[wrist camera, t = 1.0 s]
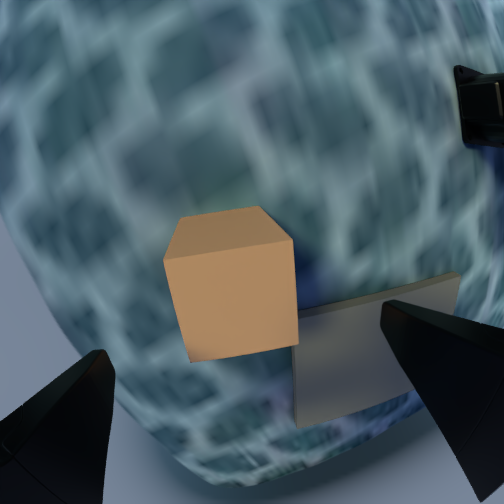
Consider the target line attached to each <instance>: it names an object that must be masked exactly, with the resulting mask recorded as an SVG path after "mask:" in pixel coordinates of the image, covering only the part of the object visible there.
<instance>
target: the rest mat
mask: <svg viewBox="0 0 504 504" xmlns="http://www.w3.org/2000/svg"><path fill="white" fill-rule="evenodd" d="M460 279H461V275H459V274H457V273H456V272H454V271H453V272H450V273H447V274H443V275H440V276H437V277H433V278H430V279H426V280H423V281H419V282H416V283H412V284H409V285H405V286H401V287H397V288H394V289H390V290H386V291H382V292H378V293H374V294H370V295H366V296H362V297H358V298H354V299H349V300H345V301H341V302H336V303H332V304H327V305H323V306H318V307H313V308H309V309H304V310H299V311H297V316H298V338H299V344H297V345H292V346H291V350H292V370H293V392H294V419H295V424H296V427H297V429H299V428H303V427H307V426H311V425H315V424H319V423H322V422H326V421H329V420H333V419H336V418H339V417H343V416H346V415H349V414H352V413H355V412H358V411H361V410H364V409H367V408H369V407H372V406H375V405H378V404H380V403H383V402H385V401H388V400H390V399H393V398H395V397H398V396H400V395H403V394H405V393H407V392H410V391H412V390H414V389H415V388H414V386H413V385H412V383H411V382H410V380H409V379H408V377H407V376H406V374H405V372H404V371H403V369H402V368H401V366H400V365H399V363H398V361H397V359H396V358H395V356H394V354H393V352H392V350H391V348H390V346H389V344H388V342H387V340H386V338H385V336H384V334H383V332H382V330H381V328H380V317H381V308H382V304H383V302H385V301H388V300H392V299H396V300H399V301H403V302H406V303H410V304H413V305H417V306H421V307H424V308H428V309H432V310H435V311H439V312H442V313H446V314H450V315H453V313H454V309H455V305H456V300H457V295H458V290H459V284H460Z"/></svg>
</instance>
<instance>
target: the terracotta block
mask: <svg viewBox="0 0 504 504" xmlns="http://www.w3.org/2000/svg"><path fill="white" fill-rule="evenodd" d="M163 262H164V266H165V270H166V275H167V279H168V283H169V287H170V291H171V295H172V299H173V303H174V307H175V311H176V314H177V318H178V322H179V325H180V329H181V333H182V336H183V340H184V343H185V346H186V350H187V353H188V356H189V360H190V363H192V362H199V361H207V360H214V359H221V358H227V357H233V356H239V355H245V354H251V353H257V352H262V351H267V350H273V349H278V348H283V347H287V346H292V345H297V344H299V338H298V316H297V297H296V279H295V264H294V250H293V239H292V238H291V237H290V236H289V235H288V234H287V233H286V232H285V231H284V230H283V229H282V228H281V227H280V226H279V225H278V224H277V223H276V222H275V221H274V220H273V219H272V218H271V217H270V216H269V215H268V214H267V213H266V212H265V211H264V210H263V209H262V208H261V207H260V206H255V207H248V208H241V209H234V210H227V211H221V212H214V213H208V214H201V215H195V216H189V217H183V218H180V220H179V222H178V225H177V227H176V230H175V232H174V234H173V237H172V239H171V242H170V244H169V247H168V249H167V252H166V254H165V257H164V259H163Z"/></svg>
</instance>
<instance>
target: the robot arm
mask: <svg viewBox="0 0 504 504" xmlns="http://www.w3.org/2000/svg"><path fill="white" fill-rule="evenodd" d="M454 73H455V78H456V84H457V90H458V97H459V104H460V112H461V122H462V134H463V140H464V142H465V143H468V144H477V145H485V146H492V147H499V148H504V73H494V74H482V73H480V72H477V71H475V70H472V69H470V68H467V67H464V66H461V65H456V66H454ZM380 328H381V330H382V332H383V334H384V336H385V338H386V340H387V342H388V344H389V346H390V348H391V350H392V352H393V354H394V356H395V358H396V359H397V361H398V363H399V365H400V366H401V368H402V369H403V371H404V372H405V374H406V376H407V377H408V379H409V380H410V382H411V383H412V385H413V386H414V388H415V390H416V391H417V393H418V394H419V396H420V397H421V399H422V401H423V402H424V404H425V406H426V407H427V409H428V410H429V412H430V413H431V415H432V417H433V419H434V420H435V422H436V424H437V425H438V427H439V429H440V430H441V432H442V434H443V435H444V437H445V439H446V441H447V442H448V444H449V446H450V447H451V449H452V451H453V453H454V454H455V456H456V458H457V460H458V462H459V464H460V466H461V467H462V469H463V471H464V473H465V475H466V477H467V479H468V480H469V482H470V484H471V486H472V488H473V490H474V492H475V494H476V496H477V498H478V500H479V501H480V502H483V501H484V500H485V499H486V498H488V497H489V496H490V495H491V494H493V493H494V492H495V491H496V490H497V489H498V488H500V487H501V486H502V485H503V484H504V329H502V328H498V327H494V326H490V325H486V324H483V323H481V324H480V323H479V322H475V321H472V320H468V319H464V318H461V317H457V316H453V315H450V314H446V313H442V312H439V311H435V310H432V309H428V308H424V307H421V306H417V305H413V304H410V303H406V302H403V301H399V300H396V299H392V300H388V301H385V302H383V304H382V308H381V317H380ZM114 389H115V369H114V367H113V365H112V363H111V361H110V358H109V356H108V354H107V352H106V351H105V350H103V349H99V350H92V351H91V352H90V353H88V354H87V355H86V356H84V357H83V358H82V359H80V360H79V361H78V362H76V363H75V364H74V365H73V366H71V367H70V368H69V369H68V370H66V371H65V372H63V373H62V374H61V375H60V376H58V377H57V378H56V379H54V380H53V381H52V382H51V383H50V384H48V385H47V386H46V387H44V388H43V389H41V390H40V391H39V392H38V393H36V394H35V395H34V396H33V397H31V398H30V399H29V400H28V401H26V402H25V403H24V404H23V405H21V406H20V407H18V408H17V409H16V410H15V411H13V412H12V413H11V414H9V415H8V416H7V417H6V418H4V419H3V420H1V421H0V504H102V502H103V488H104V478H105V468H106V459H107V451H108V444H109V436H110V430H111V423H112V416H113V404H114Z"/></svg>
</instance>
